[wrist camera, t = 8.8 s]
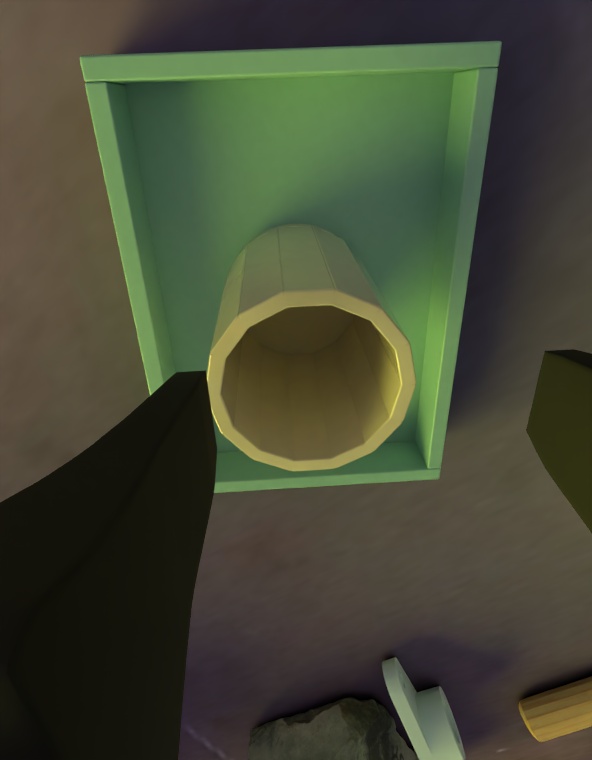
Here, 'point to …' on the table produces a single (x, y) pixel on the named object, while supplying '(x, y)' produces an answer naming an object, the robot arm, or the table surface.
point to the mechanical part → (423, 716)
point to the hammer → (558, 710)
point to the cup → (306, 353)
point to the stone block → (332, 735)
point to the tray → (299, 202)
